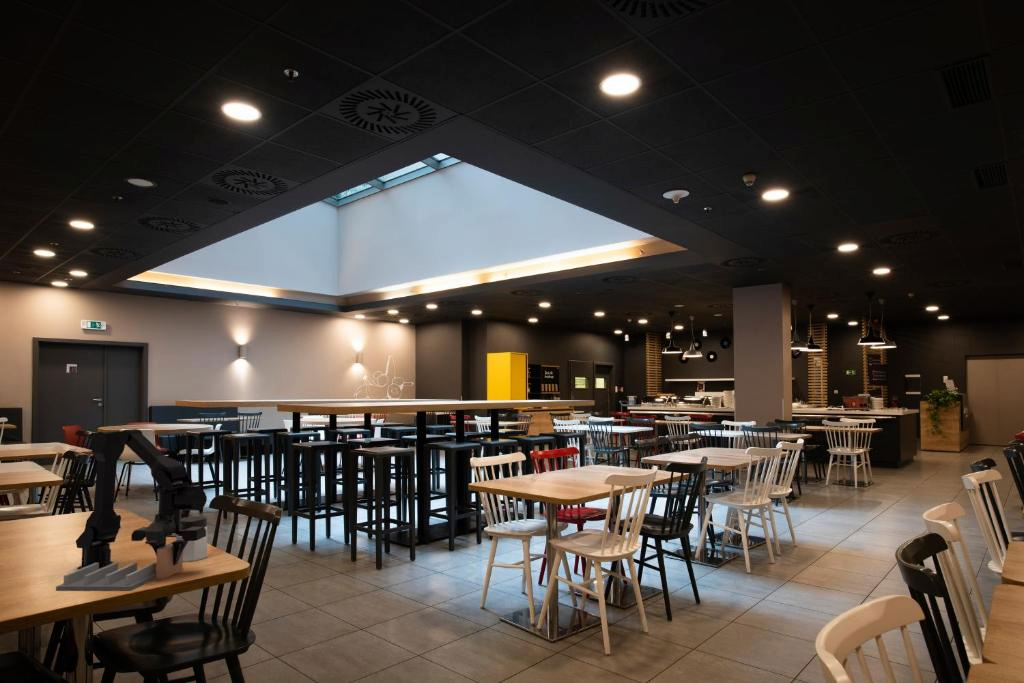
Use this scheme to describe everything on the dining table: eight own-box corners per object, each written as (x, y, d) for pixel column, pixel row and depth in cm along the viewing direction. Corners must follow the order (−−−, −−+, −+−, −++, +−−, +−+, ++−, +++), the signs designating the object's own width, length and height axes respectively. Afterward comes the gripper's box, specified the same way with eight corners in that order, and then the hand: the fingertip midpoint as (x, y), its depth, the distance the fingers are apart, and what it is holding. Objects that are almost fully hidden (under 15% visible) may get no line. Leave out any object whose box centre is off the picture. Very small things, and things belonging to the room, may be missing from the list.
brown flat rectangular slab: (156, 578, 174) (157, 549, 175) (173, 569, 183) (174, 541, 184) (165, 578, 174) (166, 549, 175) (182, 569, 183) (183, 541, 184)
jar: (194, 553, 201) (195, 514, 202) (213, 555, 197) (214, 516, 198) (169, 560, 193) (170, 520, 193) (187, 563, 189) (189, 522, 190)
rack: (55, 590, 165) (56, 576, 165) (93, 574, 179) (93, 561, 179) (131, 590, 164) (131, 576, 164) (162, 574, 178) (162, 561, 178)
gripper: (119, 514, 172) (117, 573, 171) (186, 514, 172) (185, 573, 171) (144, 506, 184) (142, 561, 182) (207, 506, 183) (206, 561, 182)
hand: (168, 564), depth 179 cm, fingers open, 4 cm apart
